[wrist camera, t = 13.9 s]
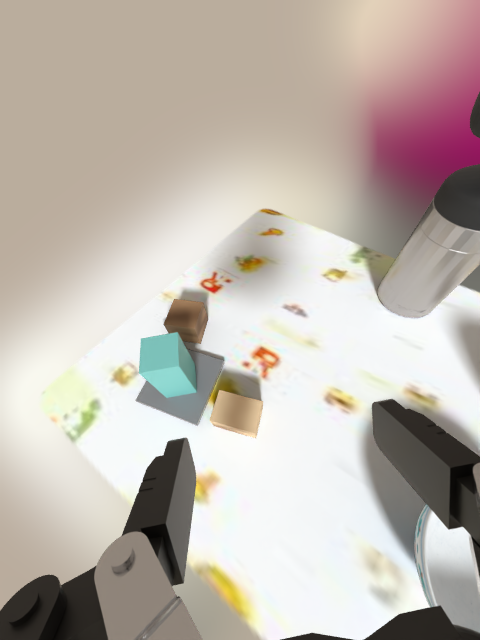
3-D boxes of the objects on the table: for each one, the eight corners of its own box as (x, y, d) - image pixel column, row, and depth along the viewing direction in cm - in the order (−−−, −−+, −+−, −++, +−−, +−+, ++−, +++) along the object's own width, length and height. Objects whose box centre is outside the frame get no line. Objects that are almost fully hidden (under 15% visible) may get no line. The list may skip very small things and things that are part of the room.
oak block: (214, 426, 35) (209, 420, 31) (222, 398, 37) (219, 389, 33) (255, 438, 34) (255, 433, 30) (262, 408, 36) (263, 401, 32)
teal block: (166, 369, 39) (141, 338, 30) (194, 364, 39) (177, 332, 31) (166, 398, 36) (139, 373, 28) (197, 392, 36) (178, 366, 28)
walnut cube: (181, 315, 45) (174, 299, 41) (208, 319, 44) (203, 302, 40) (172, 339, 43) (163, 324, 38) (200, 343, 42) (194, 328, 38)
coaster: (169, 345, 42) (168, 342, 41) (224, 362, 40) (223, 360, 39) (137, 402, 37) (135, 400, 36) (197, 426, 35) (196, 424, 34)
